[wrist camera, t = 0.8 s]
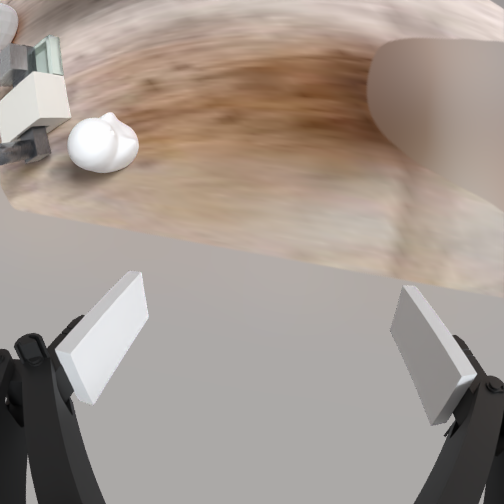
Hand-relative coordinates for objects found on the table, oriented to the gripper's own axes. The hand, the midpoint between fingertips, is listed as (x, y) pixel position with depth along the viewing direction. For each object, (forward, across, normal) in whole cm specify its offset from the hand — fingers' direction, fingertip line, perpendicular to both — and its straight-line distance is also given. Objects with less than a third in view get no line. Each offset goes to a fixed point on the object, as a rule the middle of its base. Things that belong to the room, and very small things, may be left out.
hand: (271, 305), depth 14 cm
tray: (+27, -40, +23) cm, 53 cm away
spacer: (+21, -40, +24) cm, 51 cm away
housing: (+27, -38, +15) cm, 49 cm away
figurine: (+27, -22, +8) cm, 35 cm away
